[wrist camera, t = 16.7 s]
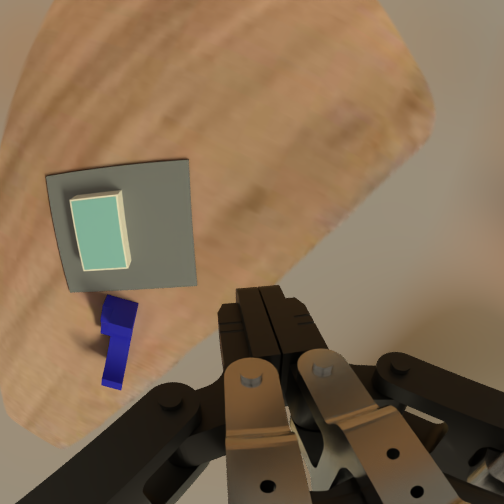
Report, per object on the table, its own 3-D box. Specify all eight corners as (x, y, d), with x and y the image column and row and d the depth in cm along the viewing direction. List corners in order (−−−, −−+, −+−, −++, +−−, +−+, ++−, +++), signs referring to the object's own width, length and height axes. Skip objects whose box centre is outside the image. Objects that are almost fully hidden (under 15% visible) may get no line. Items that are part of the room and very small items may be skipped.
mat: (47, 176, 32) (46, 176, 31) (188, 159, 34) (188, 159, 34) (71, 291, 38) (70, 292, 38) (197, 284, 41) (197, 285, 40)
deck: (121, 189, 34) (76, 195, 33) (117, 194, 32) (69, 200, 31) (131, 260, 38) (88, 263, 37) (128, 268, 36) (83, 271, 35)
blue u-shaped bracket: (107, 293, 40) (97, 319, 34) (138, 302, 41) (132, 329, 35) (99, 355, 43) (91, 382, 38) (126, 362, 45) (121, 390, 39)
